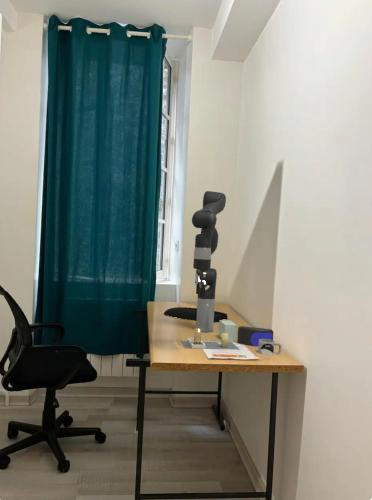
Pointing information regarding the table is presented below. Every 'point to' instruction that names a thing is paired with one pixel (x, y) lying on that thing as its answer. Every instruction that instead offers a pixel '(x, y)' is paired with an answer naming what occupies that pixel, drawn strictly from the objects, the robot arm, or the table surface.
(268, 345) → the mug
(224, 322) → the block
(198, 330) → the pin
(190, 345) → the board
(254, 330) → the leaning round-cornered charcoal block
